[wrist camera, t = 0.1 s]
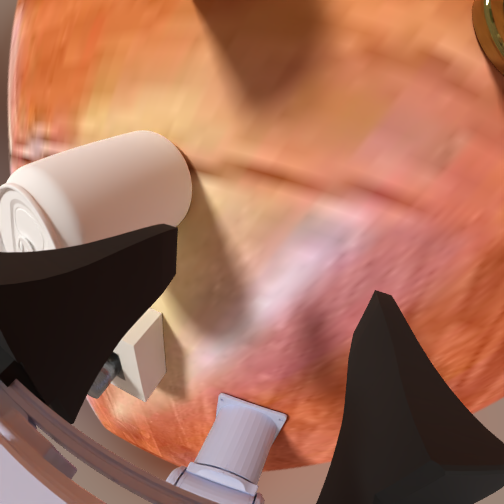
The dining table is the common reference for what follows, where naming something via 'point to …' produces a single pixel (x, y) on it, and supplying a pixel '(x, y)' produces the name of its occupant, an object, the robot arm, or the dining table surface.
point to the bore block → (142, 356)
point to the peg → (106, 375)
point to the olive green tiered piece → (490, 29)
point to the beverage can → (94, 193)
